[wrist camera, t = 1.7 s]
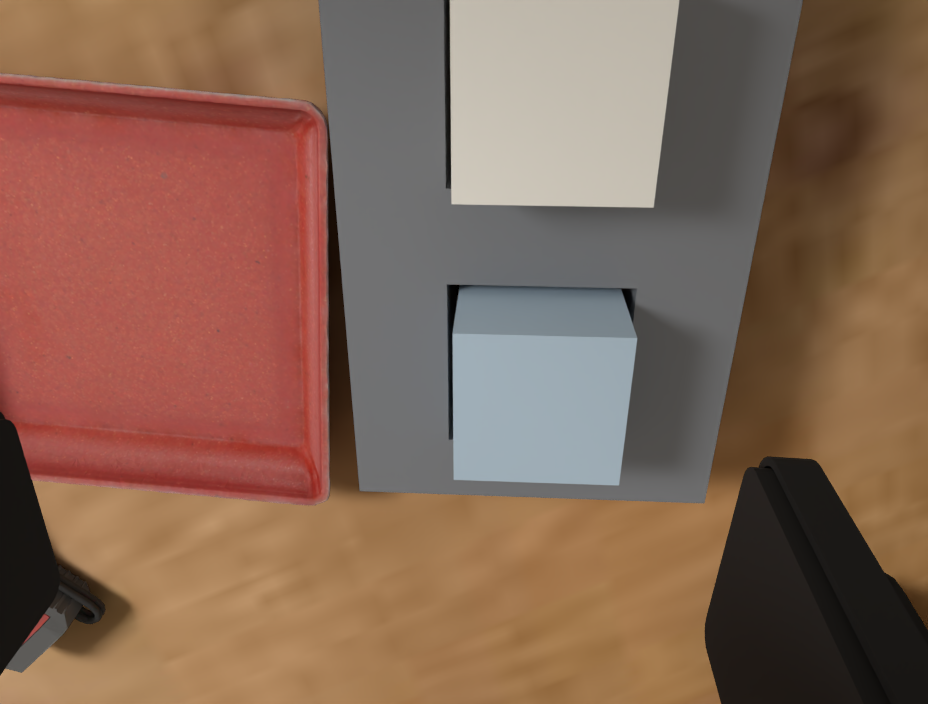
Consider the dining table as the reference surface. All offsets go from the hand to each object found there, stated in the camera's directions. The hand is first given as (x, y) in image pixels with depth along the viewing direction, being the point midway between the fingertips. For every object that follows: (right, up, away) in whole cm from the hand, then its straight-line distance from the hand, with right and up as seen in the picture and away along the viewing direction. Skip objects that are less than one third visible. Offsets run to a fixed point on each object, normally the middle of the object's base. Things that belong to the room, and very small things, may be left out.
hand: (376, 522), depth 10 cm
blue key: (+4, +3, +19) cm, 20 cm away
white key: (+4, +11, +15) cm, 19 cm away
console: (+4, +8, +20) cm, 22 cm away
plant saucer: (-13, +5, +23) cm, 27 cm away
